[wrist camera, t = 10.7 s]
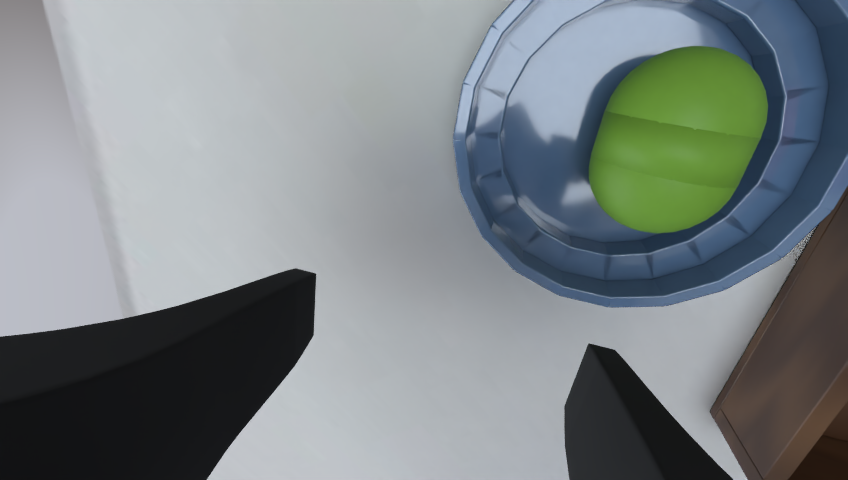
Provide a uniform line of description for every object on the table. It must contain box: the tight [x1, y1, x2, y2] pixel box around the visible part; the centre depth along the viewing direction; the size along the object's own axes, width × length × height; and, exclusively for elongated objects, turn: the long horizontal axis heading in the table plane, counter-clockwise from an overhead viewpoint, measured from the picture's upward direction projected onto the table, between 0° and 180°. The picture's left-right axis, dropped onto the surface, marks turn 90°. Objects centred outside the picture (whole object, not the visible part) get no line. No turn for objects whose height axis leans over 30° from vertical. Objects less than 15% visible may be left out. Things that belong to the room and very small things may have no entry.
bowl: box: [453, 0, 848, 307], centre depth 15 cm, size 13×13×4 cm
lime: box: [589, 46, 768, 233], centre depth 14 cm, size 6×5×5 cm
